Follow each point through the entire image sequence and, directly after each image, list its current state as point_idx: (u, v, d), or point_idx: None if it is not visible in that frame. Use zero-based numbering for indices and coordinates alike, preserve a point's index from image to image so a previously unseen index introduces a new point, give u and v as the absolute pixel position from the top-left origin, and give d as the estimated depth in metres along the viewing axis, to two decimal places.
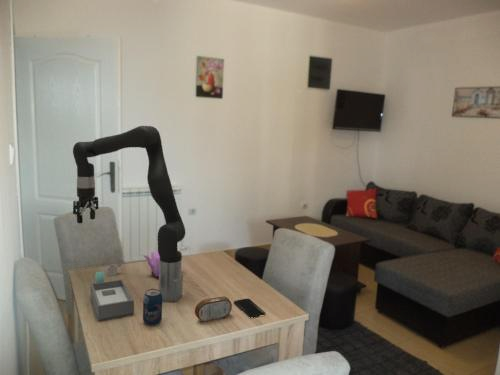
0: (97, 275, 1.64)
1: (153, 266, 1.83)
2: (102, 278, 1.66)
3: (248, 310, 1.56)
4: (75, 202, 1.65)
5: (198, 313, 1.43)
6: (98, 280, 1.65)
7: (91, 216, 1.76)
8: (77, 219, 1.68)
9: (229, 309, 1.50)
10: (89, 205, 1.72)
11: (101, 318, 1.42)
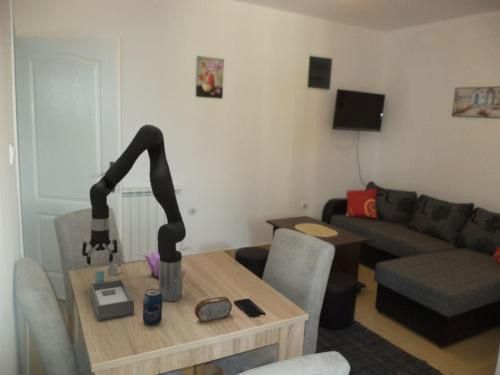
0: (97, 275, 1.64)
1: (153, 266, 1.83)
2: (102, 278, 1.66)
3: (248, 310, 1.56)
4: None
5: (198, 313, 1.43)
6: (98, 280, 1.65)
7: None
8: (112, 258, 1.68)
9: (229, 309, 1.50)
10: None
11: (101, 318, 1.42)
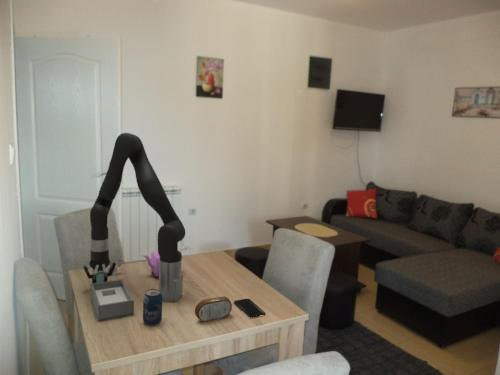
0: (97, 275, 1.64)
1: (153, 266, 1.83)
2: (102, 278, 1.66)
3: (248, 310, 1.56)
4: None
5: (198, 313, 1.43)
6: (98, 280, 1.65)
7: None
8: (107, 280, 1.68)
9: (229, 309, 1.50)
10: None
11: (101, 318, 1.42)
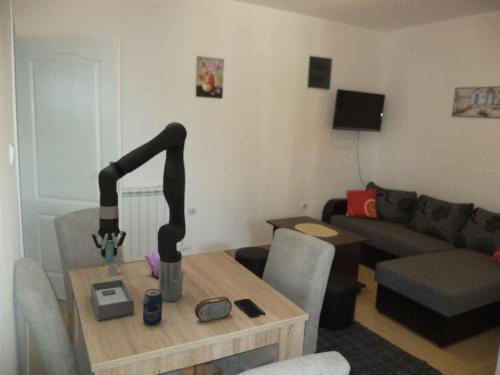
0: (106, 245, 1.54)
1: (153, 266, 1.83)
2: (112, 248, 1.55)
3: (248, 310, 1.56)
4: None
5: (198, 313, 1.43)
6: (107, 250, 1.54)
7: (104, 254, 1.55)
8: None
9: (229, 309, 1.50)
10: None
11: (101, 318, 1.42)
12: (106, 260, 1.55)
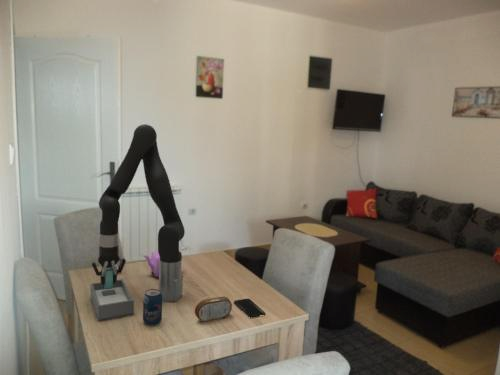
0: (106, 272, 1.56)
1: (153, 266, 1.83)
2: (111, 275, 1.57)
3: (248, 310, 1.56)
4: None
5: (198, 313, 1.43)
6: (107, 277, 1.56)
7: None
8: (116, 278, 1.59)
9: (229, 309, 1.50)
10: None
11: (101, 318, 1.42)
12: (105, 287, 1.57)
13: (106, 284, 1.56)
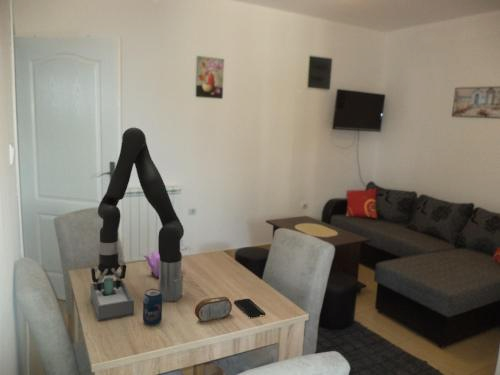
0: (106, 282, 1.56)
1: (153, 266, 1.83)
2: (111, 285, 1.57)
3: (248, 310, 1.56)
4: (125, 265, 1.60)
5: (198, 313, 1.43)
6: (107, 287, 1.56)
7: None
8: None
9: (229, 309, 1.50)
10: None
11: (101, 318, 1.42)
12: None
13: (106, 294, 1.57)
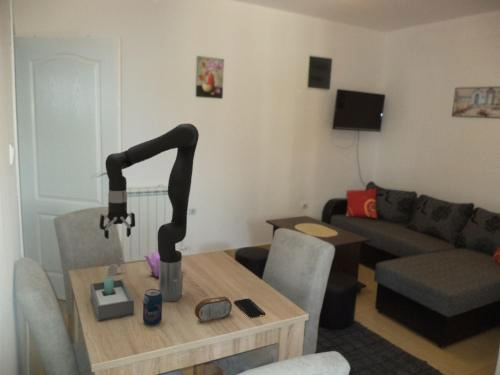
0: (106, 282, 1.56)
1: (153, 266, 1.83)
2: (111, 285, 1.57)
3: (248, 310, 1.56)
4: (133, 214, 1.64)
5: (198, 313, 1.43)
6: (107, 287, 1.56)
7: None
8: (130, 232, 1.64)
9: (229, 309, 1.50)
10: None
11: (101, 318, 1.42)
12: None
13: (106, 294, 1.57)
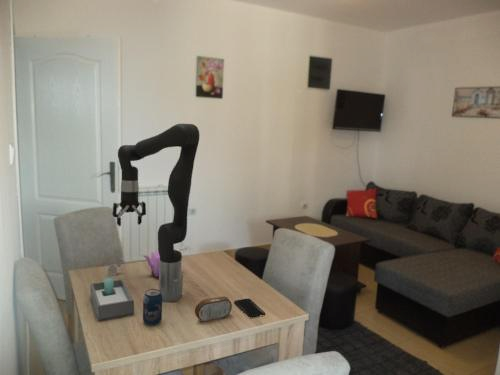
0: (106, 282, 1.56)
1: (153, 266, 1.83)
2: (111, 285, 1.57)
3: (248, 310, 1.56)
4: (144, 203, 1.73)
5: (198, 313, 1.43)
6: (107, 287, 1.56)
7: None
8: (141, 220, 1.73)
9: (229, 309, 1.50)
10: None
11: (101, 318, 1.42)
12: None
13: (106, 294, 1.57)
